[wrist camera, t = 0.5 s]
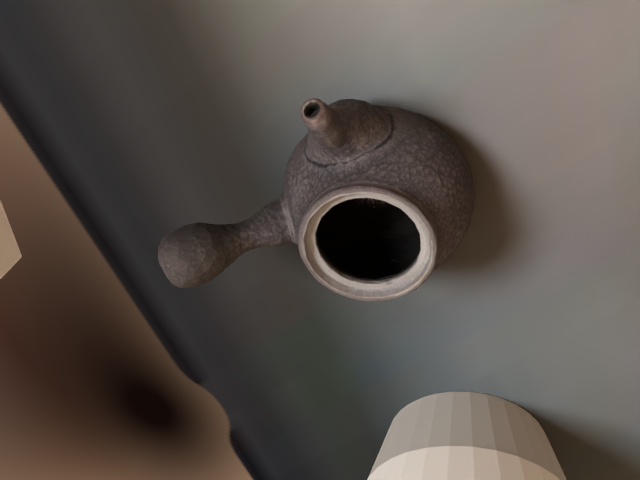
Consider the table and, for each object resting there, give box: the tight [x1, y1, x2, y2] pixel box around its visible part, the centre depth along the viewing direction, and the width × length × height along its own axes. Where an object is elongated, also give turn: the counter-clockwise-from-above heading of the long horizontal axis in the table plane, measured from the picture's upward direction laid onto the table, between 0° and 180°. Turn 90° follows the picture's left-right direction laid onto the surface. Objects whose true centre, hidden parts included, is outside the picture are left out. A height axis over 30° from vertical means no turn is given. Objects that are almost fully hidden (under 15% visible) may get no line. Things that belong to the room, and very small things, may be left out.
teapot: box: [158, 98, 474, 302], centre depth 36 cm, size 19×15×10 cm
